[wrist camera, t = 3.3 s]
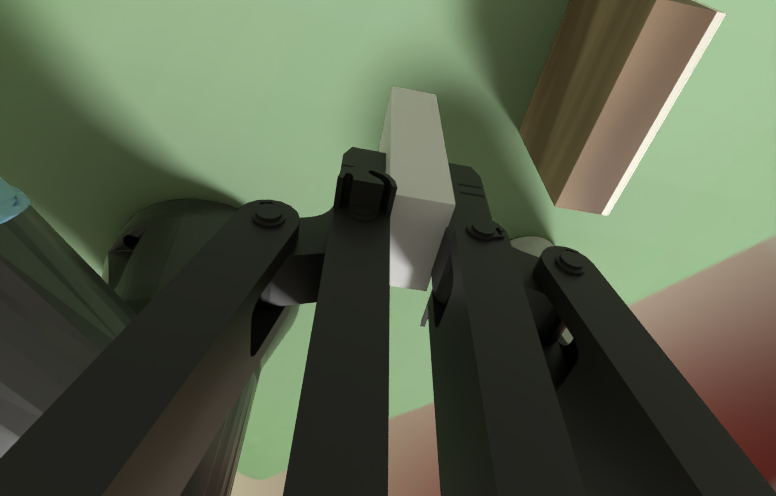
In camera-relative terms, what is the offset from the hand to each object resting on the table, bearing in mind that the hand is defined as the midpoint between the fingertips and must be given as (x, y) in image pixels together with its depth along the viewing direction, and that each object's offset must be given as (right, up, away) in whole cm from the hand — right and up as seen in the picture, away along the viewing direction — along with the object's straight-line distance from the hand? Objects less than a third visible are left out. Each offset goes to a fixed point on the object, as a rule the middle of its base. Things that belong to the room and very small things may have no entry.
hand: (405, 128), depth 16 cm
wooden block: (+11, +7, +13) cm, 18 cm away
